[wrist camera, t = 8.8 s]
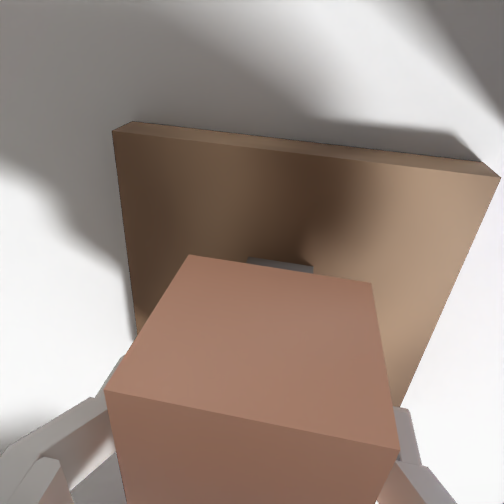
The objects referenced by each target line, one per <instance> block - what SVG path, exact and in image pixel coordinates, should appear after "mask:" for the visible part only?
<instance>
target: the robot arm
mask: <svg viewBox="0 0 504 504" xmlns="http://www.w3.org/2000/svg"><path fill="white" fill-rule="evenodd" d="M124 356H125V355H124ZM124 356H122V357H121V358H120V359H119V361H118V362H117V364H116V365H115V367H114V369H113V370H112V372H111V373H110V375H109V376H108V378H107V379H106V381H105V382H104V384H103V386H102V387H101V389H100V390H99V392H98V393H97V395H96V396H95V398H93V397H89V398H88V399H86V400H84V401H83V402H81V403H79V404H78V405H76V406H74V407H73V408H71V409H69V410H68V411H66V412H64V413H63V414H61V415H59V416H58V417H56V418H54V419H53V420H51V421H50V422H48V423H46V424H45V425H43V426H41V427H40V428H38V429H36V430H35V431H33V432H31V433H30V434H28V435H26V436H25V437H23V438H21V439H20V440H18V441H16V442H15V443H13V444H12V445H10V446H8V447H7V449H6V450H5V451H4V452H3V454H2V455H1V456H0V504H74V501H73V498H72V496H71V493H70V491H71V490H72V489H73V488H74V487H75V486H77V485H78V484H79V483H80V482H81V481H82V480H83V479H85V478H86V477H87V476H88V475H89V474H90V473H92V472H93V471H94V470H95V469H96V468H97V467H98V466H100V465H101V464H102V463H103V462H104V461H105V460H107V459H108V458H109V457H110V456H111V455H112V454H113V453H115V452H116V448H115V443H114V438H113V434H112V429H111V424H110V419H109V414H108V410H107V405H106V400H105V395H104V390H103V389H104V388H105V386H106V385H107V383H108V381H109V380H110V378H111V377H112V375H113V373H114V372H115V370H116V369H117V367H118V366H119V364H120V362H121V361H122V359H123V358H124ZM393 410H394V416H395V421H396V427H397V433H398V438H399V444H400V452H399V454H398V456H397V459H396V461H395V463H394V465H393V467H392V469H391V471H390V473H389V475H388V477H387V479H386V481H385V483H384V485H383V488H382V490H381V492H380V494H379V496H378V498H377V501H378V503H379V504H457V503H456V502H455V500H454V499H453V498H452V497H451V495H450V494H449V493H448V492H447V490H446V489H445V488H444V487H443V485H442V484H441V483H440V482H439V480H438V479H437V478H436V477H435V475H434V474H433V473H432V472H431V470H430V469H429V468H428V467H426V466H422V463H421V458H420V454H419V450H418V445H417V441H416V436H415V432H414V428H413V423H412V419H411V414H410V412H409V410H408V409H406V408H400V407H395V406H393Z"/></svg>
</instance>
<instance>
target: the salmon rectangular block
mask: <svg viewBox="0 0 504 504" xmlns="http://www.w3.org/2000/svg"><path fill="white" fill-rule="evenodd" d="M103 390H104V395H105V400H106V405H107V410H108V414H109V419H110V424H111V429H112V434H113V438H114V443H115V448H116V453H117V458H118V463H119V467H120V472H121V477H122V482H123V487H124V491H125V496H126V501H127V504H375V502H376V500H377V498H378V496H379V494H380V492H381V490H382V488H383V485H384V483H385V481H386V479H387V477H388V475H389V473H390V471H391V469H392V467H393V465H394V463H395V461H396V459H397V456H398V454H399V452H400V444H399V438H398V433H397V427H396V421H395V416H394V410H393V404H392V399H391V393H390V387H389V382H388V376H387V370H386V365H385V359H384V353H383V348H382V342H381V336H380V331H379V325H378V319H377V314H376V308H375V302H374V297H373V291H372V285H371V283H369V282H363V281H356V280H350V279H344V278H337V277H331V276H324V275H318V274H311V273H305V272H299V271H292V270H286V269H279V268H273V267H267V266H260V265H254V264H247V263H241V262H234V261H228V260H222V259H215V258H209V257H202V256H196V255H188V256H187V258H186V259H185V261H184V263H183V264H182V266H181V267H180V269H179V271H178V272H177V274H176V275H175V277H174V278H173V280H172V282H171V283H170V285H169V286H168V288H167V290H166V291H165V293H164V294H163V296H162V297H161V299H160V301H159V302H158V304H157V305H156V307H155V309H154V310H153V312H152V313H151V315H150V316H149V318H148V320H147V321H146V323H145V324H144V326H143V328H142V329H141V331H140V332H139V334H138V335H137V337H136V339H135V340H134V342H133V343H132V345H131V347H130V348H129V350H128V351H127V353H126V354H125V356H124V358H123V359H122V361H121V362H120V364H119V366H118V367H117V369H116V370H115V372H114V373H113V375H112V377H111V378H110V380H109V381H108V383H107V385H106V386H105V388H104V389H103Z"/></svg>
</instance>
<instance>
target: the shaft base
mask: <svg viewBox="0 0 504 504" xmlns="http://www.w3.org/2000/svg"><path fill="white" fill-rule="evenodd" d="M112 136H113V144H114V152H115V160H116V168H117V176H118V184H119V192H120V200H121V208H122V216H123V224H124V232H125V240H126V248H127V256H128V264H129V272H130V280H131V287H132V295H133V303H134V311H135V319H136V327H137V335H138V334H139V332H140V331H141V329H142V328H143V326H144V324H145V323H146V321H147V320H148V318H149V316H150V315H151V313H152V312H153V310H154V309H155V307H156V305H157V304H158V302H159V301H160V299H161V297H162V296H163V294H164V293H165V291H166V290H167V288H168V286H169V285H170V283H171V282H172V280H173V278H174V277H175V275H176V274H177V272H178V271H179V269H180V267H181V266H182V264H183V263H184V261H185V259H186V258H187V256H188V255H196V256H202V257H209V258H215V259H222V260H228V261H234V262H241V263H247V264H254V265H260V266H267V267H273V268H279V269H286V270H292V271H299V272H305V273H311V274H318V275H324V276H331V277H337V278H344V279H350V280H356V281H363V282H369V283H371V285H372V291H373V297H374V302H375V308H376V314H377V319H378V325H379V331H380V336H381V342H382V348H383V353H384V359H385V365H386V370H387V376H388V382H389V387H390V393H391V399H392V404H393V406H395V407H400V405H401V403H402V401H403V399H404V396H405V394H406V392H407V390H408V387H409V385H410V383H411V381H412V378H413V376H414V374H415V371H416V369H417V367H418V365H419V362H420V360H421V358H422V356H423V353H424V351H425V349H426V347H427V344H428V342H429V340H430V338H431V335H432V333H433V331H434V329H435V326H436V324H437V322H438V320H439V317H440V315H441V313H442V310H443V308H444V306H445V304H446V301H447V299H448V297H449V295H450V292H451V290H452V288H453V286H454V283H455V281H456V279H457V277H458V274H459V272H460V270H461V268H462V265H463V263H464V261H465V258H466V256H467V254H468V252H469V249H470V247H471V245H472V243H473V240H474V238H475V236H476V234H477V231H478V229H479V227H480V225H481V222H482V220H483V218H484V216H485V213H486V211H487V209H488V207H489V204H490V202H491V200H492V197H493V195H494V193H495V191H496V188H497V186H498V184H499V182H500V179H501V177H500V176H499V175H497V174H496V173H495V172H494V171H493V170H492V169H490V168H489V167H488V166H487V165H486V164H484V163H483V162H477V161H469V160H460V159H451V158H443V157H434V156H426V155H417V154H408V153H400V152H391V151H383V150H374V149H365V148H357V147H348V146H340V145H331V144H323V143H314V142H305V141H297V140H288V139H280V138H271V137H262V136H254V135H245V134H237V133H228V132H220V131H211V130H202V129H194V128H185V127H177V126H168V125H159V124H151V123H142V122H134V121H132V122H130V123H128V124H126V125H123V126H121V127H119V128H117V129H115V130H113V131H112Z"/></svg>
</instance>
